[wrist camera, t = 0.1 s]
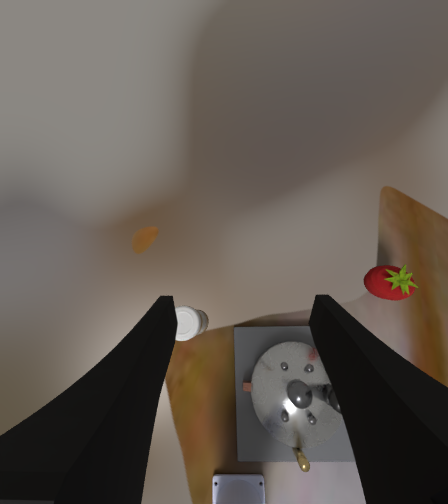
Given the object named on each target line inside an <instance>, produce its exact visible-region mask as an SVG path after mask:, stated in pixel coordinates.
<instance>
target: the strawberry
mask: <svg viewBox="0 0 448 504" xmlns="http://www.w3.org/2000/svg"><path fill="white" fill-rule="evenodd" d="M412 274H413V273H409V274H408V273H407V272H406V264H405V265H404V266H403V267H402V269H400V268H398V267H395V266H390V265H384V266H377V267H374V268H372V269H370V271H369V272H368V273H367V274H366V275H365V277H364V285H365V287H366V289H367V290H368V291H369V292H370V293H371V294H373V295H374V296H377V297H379V298H382V299H388V300H402V299H405V298H407V297H409V296H411V295H412V294H413V293H414V291H415V287H417V286H416V285H415V282H414V280H413V278H412V277H411V275H412ZM417 288H418V287H417Z"/></svg>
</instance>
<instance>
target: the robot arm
mask: <svg viewBox="0 0 448 504" xmlns="http://www.w3.org/2000/svg"><path fill="white" fill-rule="evenodd" d="M309 326H310V330H311V334H312V337H313V341H314V344H315V346H316V349H317V351H318V354H319V356H320V359H321V361H322V364H323V366H324V368H325V371H326V373H327V376H328V378H329V380H330V383H331V385H332V388H333V390H334V393H335V395H336V398H337V401H338V404H339V407H340V410H341V414H342V417H343V420H344V423H345V426H346V430H347V433H348V437H349V440H350V443H351V447H352V450H353V454H354V458H355V461H356V465H357V469H358V472H359V476H360V480H361V484H362V488H363V492H364V496H365V500H366V504H448V387H446V386H444V385H443V384H441V383H440V382H438V381H437V380H435V379H433V378H432V377H430V376H429V375H427V374H426V373H424V372H423V371H421V370H420V369H418V368H417V367H416V366H414V365H413V364H411V363H410V362H409V361H407V360H406V359H404V358H403V357H402V356H400V355H399V354H398V353H396V352H395V351H394V350H392V349H391V348H390V347H388V346H387V345H386V344H385V343H383V342H382V341H381V340H380V339H378V338H377V337H376V336H375V335H373V334H372V333H371V332H370V331H369V330H367V329H366V328H365V327H364V326H363V325H362V324H360V323H359V322H358V321H357V320H356V319H355V318H354V317H353V316H351V315H350V314H349V313H348V312H347V311H346V310H345V309H344V308H343V307H342V306H340V305H339V304H338V303H337V302H336V301H335V300H334V299H333V298H332V297H330V296H329V295H316V296H315V300H314V304H313V308H312V312H311V316H310V320H309ZM177 327H178V321H177V316H176V311H175V306H174V301H173V296H160V297H159V298H158V299H157V301H156V302H155V303H154V304H153V305H152V307H151V308H150V309H149V310H148V311H147V313H146V314H145V315H144V316H143V317H142V319H141V320H140V321H139V322H138V323H137V324H136V325H135V327H134V328H133V329H132V330H131V331H130V332H129V333H128V334H127V335H126V336H125V337H124V338H123V339H122V340H121V342H120V343H119V344H118V345H117V346H116V347H115V348H114V349H113V350H112V351H111V352H110V353H108V355H106V356H105V357H104V358H103V359H102V360H101V361H100V362H99V363H98V364H97V365H96V366H94V367H93V368H92V369H91V370H90V371H88V372H87V373H86V374H85V375H84V376H83V377H81V378H80V379H79V380H78V381H76V382H75V383H74V384H73V385H72V386H70V387H69V388H68V389H67V390H65V391H64V392H63V393H61V394H60V395H58V396H57V397H56V398H54V399H53V400H52V401H50V402H49V403H48V404H46V405H45V406H44V407H42V408H41V409H39V410H38V411H37V412H35V413H34V414H32V415H31V416H29V417H28V418H27V419H25V420H23V421H22V422H20V423H19V424H18V425H16V426H14V427H13V428H11V429H10V430H8V431H7V432H6V433H4V434H2V435H1V436H0V504H141V501H142V494H143V487H144V481H145V474H146V468H147V462H148V456H149V450H150V445H151V439H152V433H153V428H154V422H155V417H156V412H157V407H158V402H159V397H160V393H161V389H162V386H163V382H164V379H165V375H166V372H167V369H168V365H169V362H170V358H171V355H172V351H173V348H174V344H175V339H176V333H177ZM215 482H217V484H215ZM260 482H262V484H259V483H260ZM213 504H265V489H264V478H263V476H262V475H261V474H215V475H214V476H213Z"/></svg>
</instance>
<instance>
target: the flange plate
mask: <svg viewBox="0 0 448 504" xmlns="http://www.w3.org/2000/svg"><path fill="white" fill-rule="evenodd" d="M243 391H249V392H251V398H252V402H253V406H254V409H255V412H256V414H257V417H258V418H259V420H260V422H261V424H262V425H263V427H264V428H265V429H266V430H267V431H268V432H269V433H270V434H271V435H272V436H273V437H274V438H275V439H277V440H278V441H280V442H282V443H284V444H285V445H288V446H291V447H295V448H312V447H315V446H318V445H320V444H322V443H324V442H325V441H327V440H328V439H329V438H330V437H331V436H332V435H333V434H334V433H335V432H336V430H337V429H338V427H339V425H340V423H341V420H342V418H343V417H342V414H341V410H340V407H339V404H338V401H337V398H336V395H335V393H334V390H333V388H332V385H331V383H330V380H329V378H328V376H327V373H326V371H325V368H324V366H323V364H322V361H321V359H320V356H319V354H318V351H317V349H316V348H314V347H312V346H310V345H307V344H304V343H301V342H295V341H286V342H281V343H277V344H275V345H273V346H271V347H270V348H268V349H267V350H266V351H265V352H263V354H262V355H261V356H260V357H259V359H258V360H257V362H256V364H255V366H254V369H253V372H252V376H251V381H246V380H243Z"/></svg>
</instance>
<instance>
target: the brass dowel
mask: <svg viewBox="0 0 448 504" xmlns="http://www.w3.org/2000/svg"><path fill="white" fill-rule="evenodd" d="M292 451H293V453H294V455H295V457H296V459H297V462H298V464H299V466H300V468H301V470H302V471H304V472H308V471H309V469H310V464H309V462H308V460H307V458H306V456H305V455H304V453H303V451H302V449H301V448H295V447H293V448H292Z"/></svg>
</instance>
